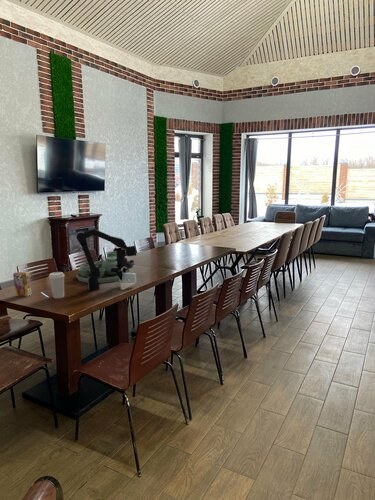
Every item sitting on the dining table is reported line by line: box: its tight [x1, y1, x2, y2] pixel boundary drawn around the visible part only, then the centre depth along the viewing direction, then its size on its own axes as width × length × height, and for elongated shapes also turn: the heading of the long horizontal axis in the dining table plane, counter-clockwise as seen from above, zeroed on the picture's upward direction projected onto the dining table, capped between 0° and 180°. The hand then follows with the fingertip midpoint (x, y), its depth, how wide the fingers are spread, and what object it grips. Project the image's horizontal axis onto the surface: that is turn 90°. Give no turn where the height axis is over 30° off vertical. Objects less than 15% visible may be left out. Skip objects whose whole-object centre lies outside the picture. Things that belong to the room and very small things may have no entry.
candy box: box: [12, 271, 33, 297], centre depth 234 cm, size 9×4×15 cm, turn 82°
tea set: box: [76, 250, 131, 284], centre depth 277 cm, size 40×40×16 cm
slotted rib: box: [120, 279, 136, 291], centre depth 248 cm, size 16×2×4 cm, turn 160°
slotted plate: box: [118, 272, 138, 284], centre depth 247 cm, size 12×2×6 cm, turn 70°
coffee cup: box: [48, 271, 66, 299], centre depth 229 cm, size 10×10×15 cm
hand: (122, 279), depth 249 cm, fingers closed on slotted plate, 2 cm apart
